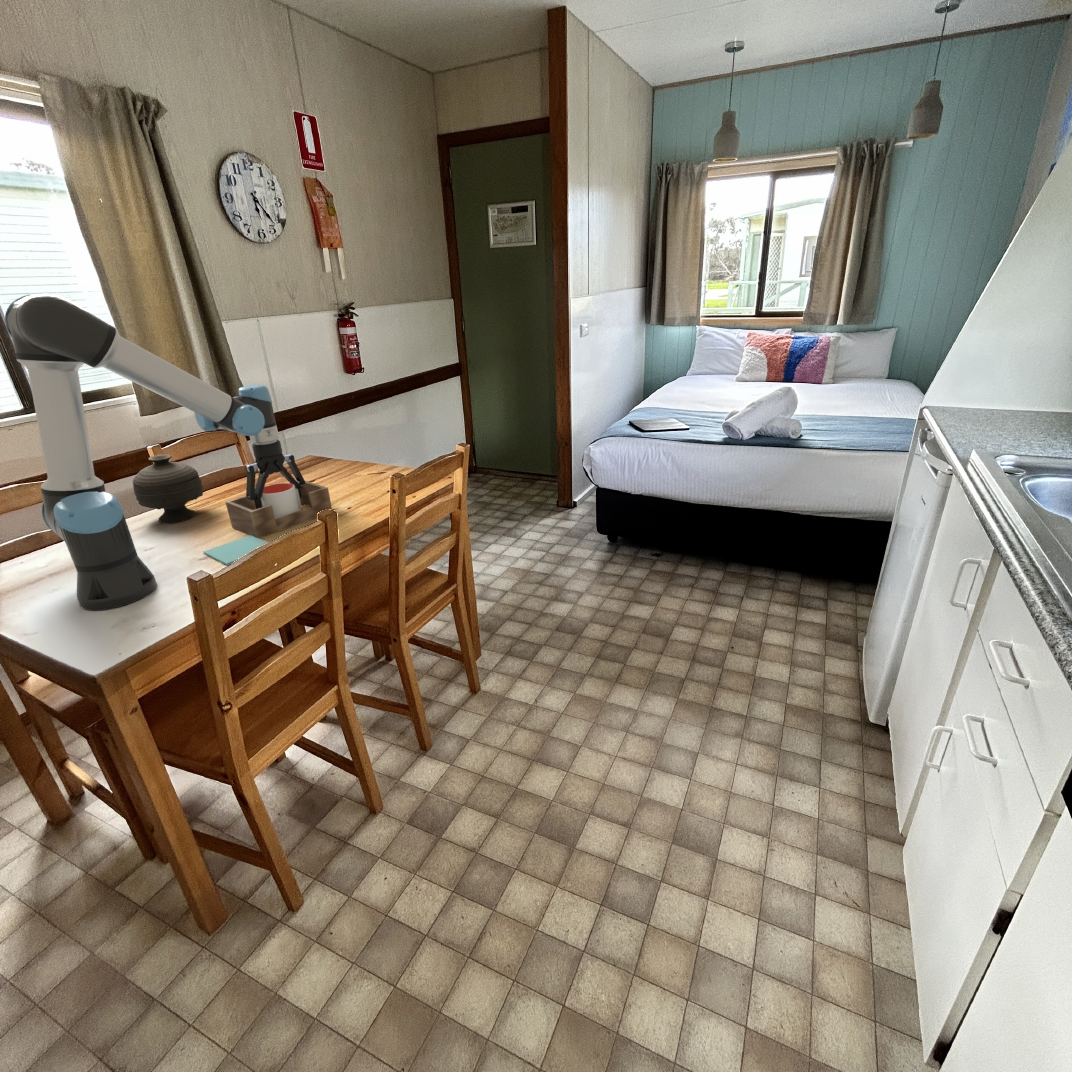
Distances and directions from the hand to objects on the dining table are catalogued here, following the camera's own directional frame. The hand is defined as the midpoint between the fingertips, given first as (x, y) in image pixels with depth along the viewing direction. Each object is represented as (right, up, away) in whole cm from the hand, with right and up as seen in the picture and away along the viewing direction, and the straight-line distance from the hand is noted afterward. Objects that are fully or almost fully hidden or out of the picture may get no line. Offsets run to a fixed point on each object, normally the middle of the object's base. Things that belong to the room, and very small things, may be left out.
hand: (282, 514), depth 175 cm
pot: (-35, -1, +6) cm, 36 cm away
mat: (-3, -10, -19) cm, 22 cm away
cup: (0, -2, +1) cm, 2 cm away
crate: (0, -2, +1) cm, 2 cm away
